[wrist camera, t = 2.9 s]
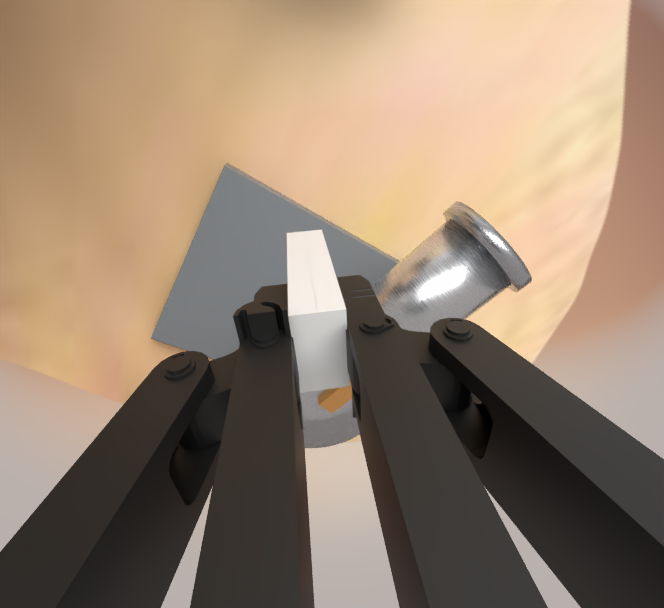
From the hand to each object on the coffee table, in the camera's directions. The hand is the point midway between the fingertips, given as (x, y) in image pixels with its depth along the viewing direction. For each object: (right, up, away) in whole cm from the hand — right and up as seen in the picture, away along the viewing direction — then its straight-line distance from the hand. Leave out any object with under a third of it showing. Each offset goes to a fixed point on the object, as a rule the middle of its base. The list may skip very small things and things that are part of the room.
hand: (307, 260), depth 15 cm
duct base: (-1, -2, +16) cm, 16 cm away
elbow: (+3, -3, +9) cm, 10 cm away
